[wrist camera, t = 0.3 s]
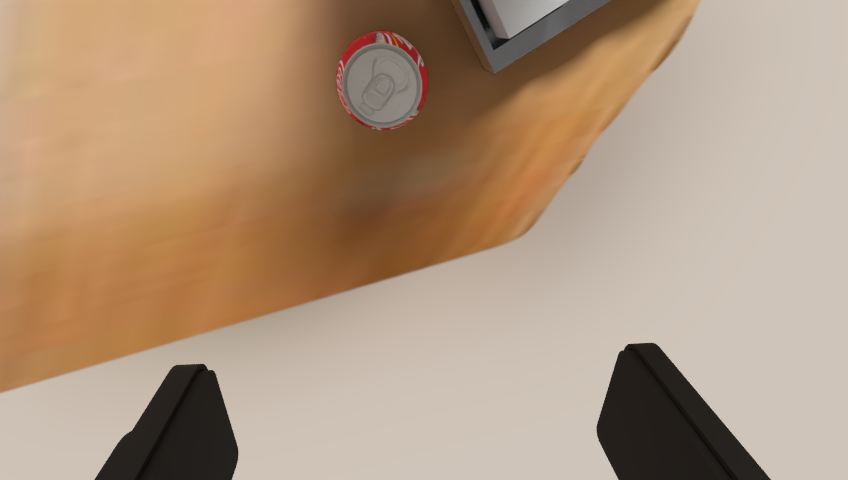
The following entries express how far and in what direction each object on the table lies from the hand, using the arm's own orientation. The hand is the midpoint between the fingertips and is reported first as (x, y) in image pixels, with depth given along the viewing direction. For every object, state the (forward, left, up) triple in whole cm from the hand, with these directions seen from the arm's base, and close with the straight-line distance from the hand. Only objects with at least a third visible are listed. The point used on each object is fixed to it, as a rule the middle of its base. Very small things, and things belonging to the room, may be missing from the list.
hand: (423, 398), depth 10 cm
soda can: (-4, +1, -36) cm, 37 cm away
